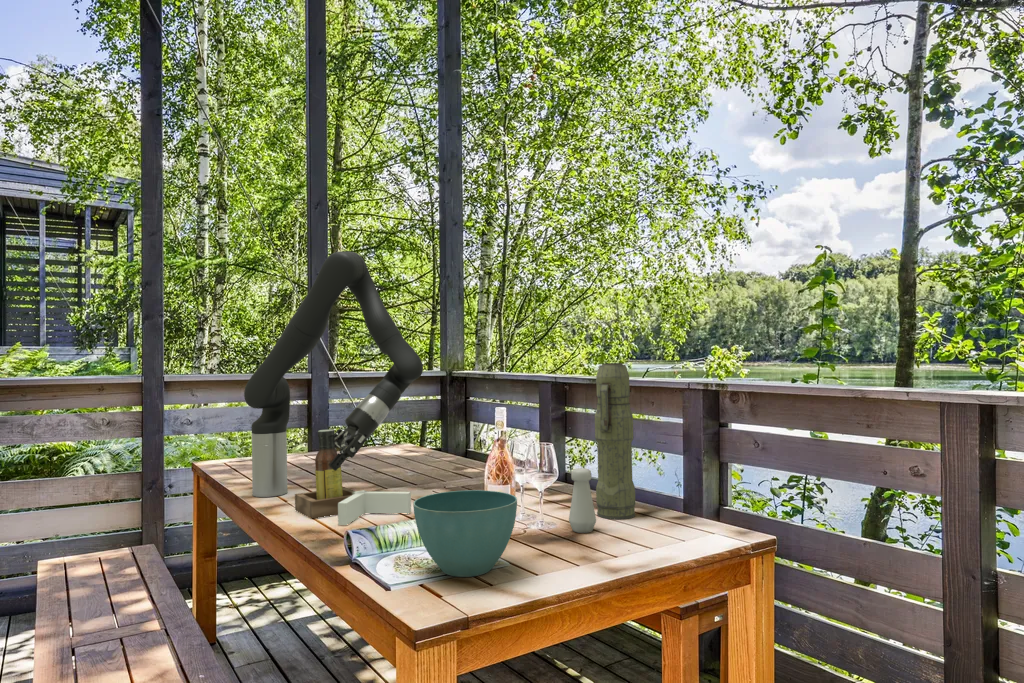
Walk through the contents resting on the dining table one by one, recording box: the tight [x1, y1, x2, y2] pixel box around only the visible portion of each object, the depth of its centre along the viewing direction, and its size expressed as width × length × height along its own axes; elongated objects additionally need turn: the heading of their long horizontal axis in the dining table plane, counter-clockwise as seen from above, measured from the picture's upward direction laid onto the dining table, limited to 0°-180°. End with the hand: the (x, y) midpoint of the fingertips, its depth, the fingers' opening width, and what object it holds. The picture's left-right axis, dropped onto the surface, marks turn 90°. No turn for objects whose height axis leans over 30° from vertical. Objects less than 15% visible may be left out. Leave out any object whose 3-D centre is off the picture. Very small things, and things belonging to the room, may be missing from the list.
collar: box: [294, 486, 356, 519], centre depth 168 cm, size 12×13×4 cm
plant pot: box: [412, 489, 518, 578], centre depth 119 cm, size 18×18×12 cm
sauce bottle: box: [314, 429, 343, 500], centre depth 168 cm, size 6×6×20 cm
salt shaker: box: [568, 467, 597, 534], centre depth 144 cm, size 6×6×13 cm
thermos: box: [594, 362, 636, 520], centre depth 157 cm, size 9×12×35 cm
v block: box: [337, 489, 412, 526], centre depth 161 cm, size 11×18×5 cm, turn 127°
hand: (325, 466), depth 167 cm, fingers open, 8 cm apart
